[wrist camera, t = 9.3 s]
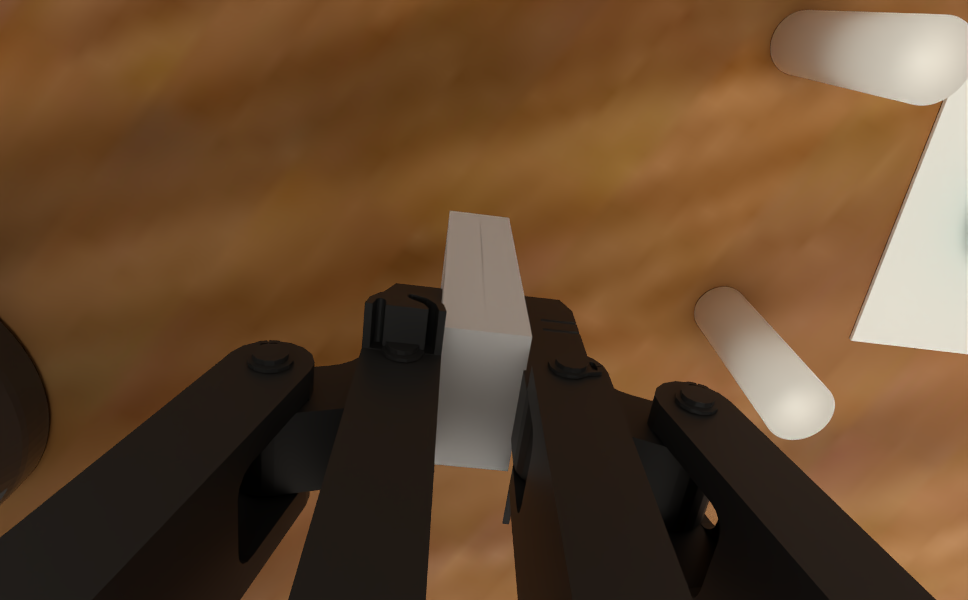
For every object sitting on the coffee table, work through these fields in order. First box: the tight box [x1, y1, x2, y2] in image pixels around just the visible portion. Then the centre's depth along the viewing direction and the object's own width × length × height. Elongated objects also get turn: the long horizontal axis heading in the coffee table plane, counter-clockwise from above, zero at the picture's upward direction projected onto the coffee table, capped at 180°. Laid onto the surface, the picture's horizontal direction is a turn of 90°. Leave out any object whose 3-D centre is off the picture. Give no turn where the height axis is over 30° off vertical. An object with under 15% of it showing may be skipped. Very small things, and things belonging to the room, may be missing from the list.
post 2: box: [770, 10, 968, 105], centre depth 25 cm, size 3×3×9 cm
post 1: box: [694, 287, 835, 440], centre depth 30 cm, size 3×3×9 cm
